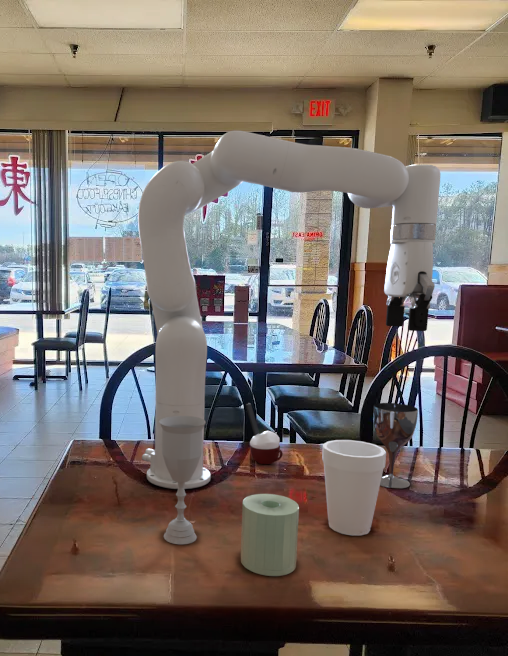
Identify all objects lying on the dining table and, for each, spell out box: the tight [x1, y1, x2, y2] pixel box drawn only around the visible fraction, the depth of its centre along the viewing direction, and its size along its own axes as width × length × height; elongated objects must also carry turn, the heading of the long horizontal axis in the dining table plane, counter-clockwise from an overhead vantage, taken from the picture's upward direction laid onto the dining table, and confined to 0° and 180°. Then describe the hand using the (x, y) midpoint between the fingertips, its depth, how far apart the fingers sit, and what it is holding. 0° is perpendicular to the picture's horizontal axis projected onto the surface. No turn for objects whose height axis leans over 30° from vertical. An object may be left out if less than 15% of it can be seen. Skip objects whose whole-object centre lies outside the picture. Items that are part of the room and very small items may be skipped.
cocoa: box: [245, 402, 283, 465], centre depth 123 cm, size 10×6×12 cm, turn 16°
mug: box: [240, 493, 300, 577], centre depth 81 cm, size 10×8×8 cm
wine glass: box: [372, 402, 419, 489], centre depth 112 cm, size 8×8×15 cm
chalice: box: [159, 416, 207, 545], centre depth 86 cm, size 7×7×18 cm
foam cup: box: [321, 439, 387, 536], centre depth 91 cm, size 10×9×13 cm
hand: (405, 328), depth 107 cm, fingers open, 9 cm apart
